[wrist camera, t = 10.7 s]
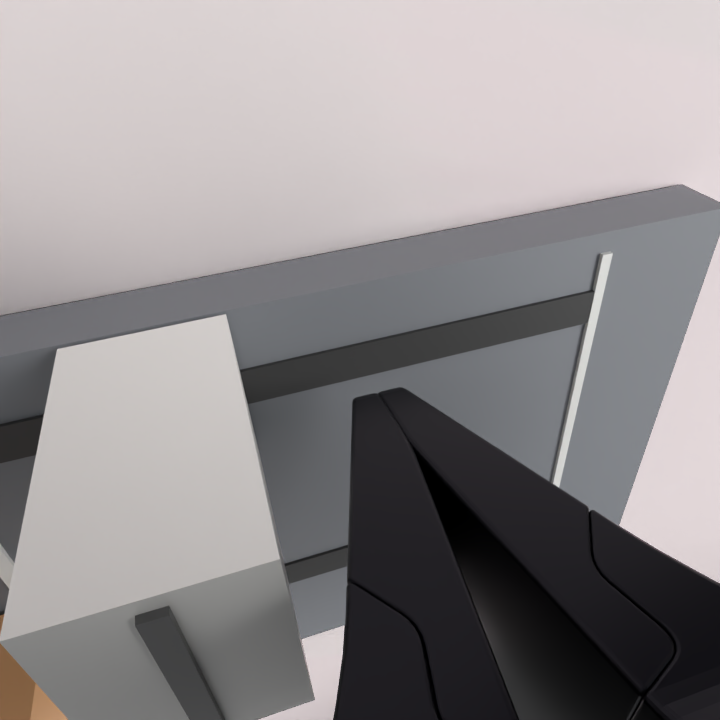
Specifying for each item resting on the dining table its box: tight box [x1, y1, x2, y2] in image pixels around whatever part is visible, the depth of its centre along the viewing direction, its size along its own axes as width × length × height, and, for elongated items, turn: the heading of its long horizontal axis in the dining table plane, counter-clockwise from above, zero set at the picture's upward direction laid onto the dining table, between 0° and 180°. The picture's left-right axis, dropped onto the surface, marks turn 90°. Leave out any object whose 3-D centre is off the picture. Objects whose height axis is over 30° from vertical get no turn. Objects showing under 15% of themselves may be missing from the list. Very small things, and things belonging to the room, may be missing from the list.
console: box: [0, 185, 720, 639], centre depth 12 cm, size 10×20×1 cm, turn 94°
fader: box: [0, 314, 315, 720], centre depth 8 cm, size 3×2×4 cm
